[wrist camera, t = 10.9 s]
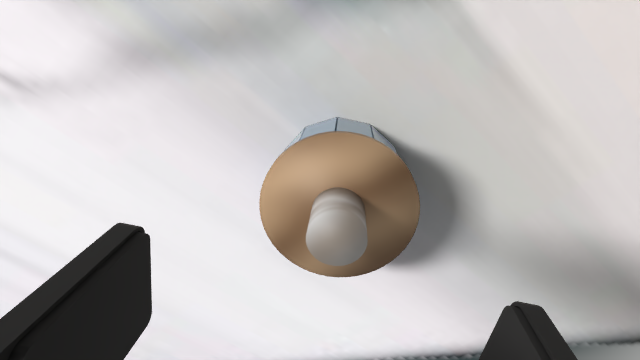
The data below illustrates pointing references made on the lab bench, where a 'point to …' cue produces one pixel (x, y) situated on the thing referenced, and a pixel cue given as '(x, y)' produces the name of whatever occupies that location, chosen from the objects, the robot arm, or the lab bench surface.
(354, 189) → the lid
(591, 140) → the lab bench surface
